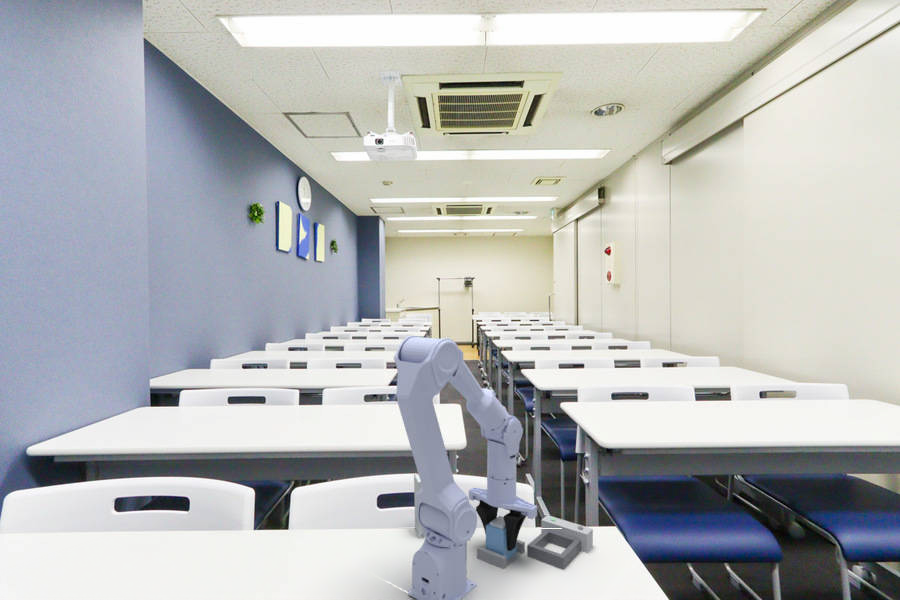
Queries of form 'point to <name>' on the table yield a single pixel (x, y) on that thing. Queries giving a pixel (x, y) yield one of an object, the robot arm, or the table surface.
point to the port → (560, 542)
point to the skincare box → (416, 488)
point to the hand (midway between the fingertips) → (501, 544)
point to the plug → (498, 538)
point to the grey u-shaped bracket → (499, 555)
